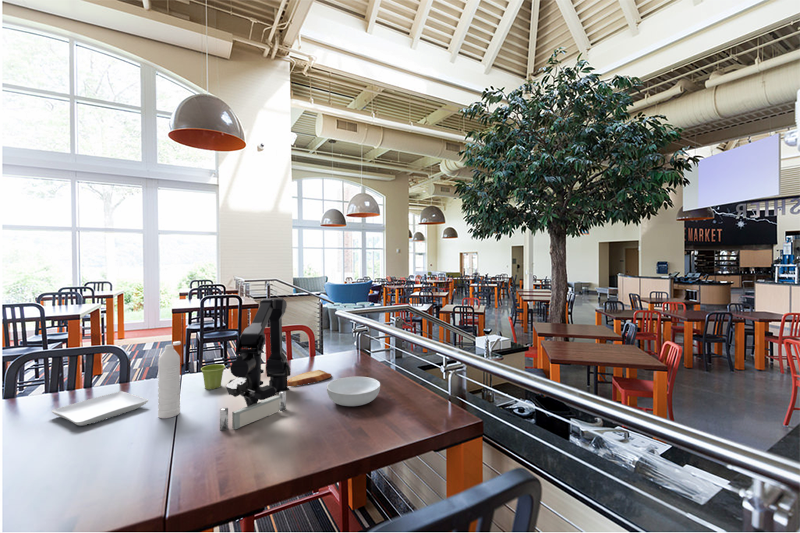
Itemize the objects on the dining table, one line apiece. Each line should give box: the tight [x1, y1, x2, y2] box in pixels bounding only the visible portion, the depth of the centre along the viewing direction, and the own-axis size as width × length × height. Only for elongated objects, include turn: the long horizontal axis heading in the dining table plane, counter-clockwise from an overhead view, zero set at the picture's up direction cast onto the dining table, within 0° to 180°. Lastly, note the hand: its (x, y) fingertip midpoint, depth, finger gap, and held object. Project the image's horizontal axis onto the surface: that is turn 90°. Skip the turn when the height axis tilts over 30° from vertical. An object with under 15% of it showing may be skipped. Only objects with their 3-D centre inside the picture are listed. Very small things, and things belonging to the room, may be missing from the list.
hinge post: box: [278, 390, 287, 412], centre depth 128 cm, size 2×2×6 cm
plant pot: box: [200, 363, 226, 390], centre depth 151 cm, size 9×9×9 cm
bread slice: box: [287, 369, 332, 387], centre depth 161 cm, size 18×18×4 cm
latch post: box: [219, 406, 229, 431], centre depth 113 cm, size 2×2×6 cm
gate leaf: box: [231, 395, 280, 430], centre depth 119 cm, size 17×2×5 cm, turn 146°
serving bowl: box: [326, 376, 381, 407], centre depth 136 cm, size 21×21×7 cm
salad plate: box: [51, 390, 149, 427], centre depth 125 cm, size 21×21×3 cm
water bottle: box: [157, 340, 182, 419], centre depth 125 cm, size 9×6×25 cm
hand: (250, 412), depth 120 cm, fingers closed
